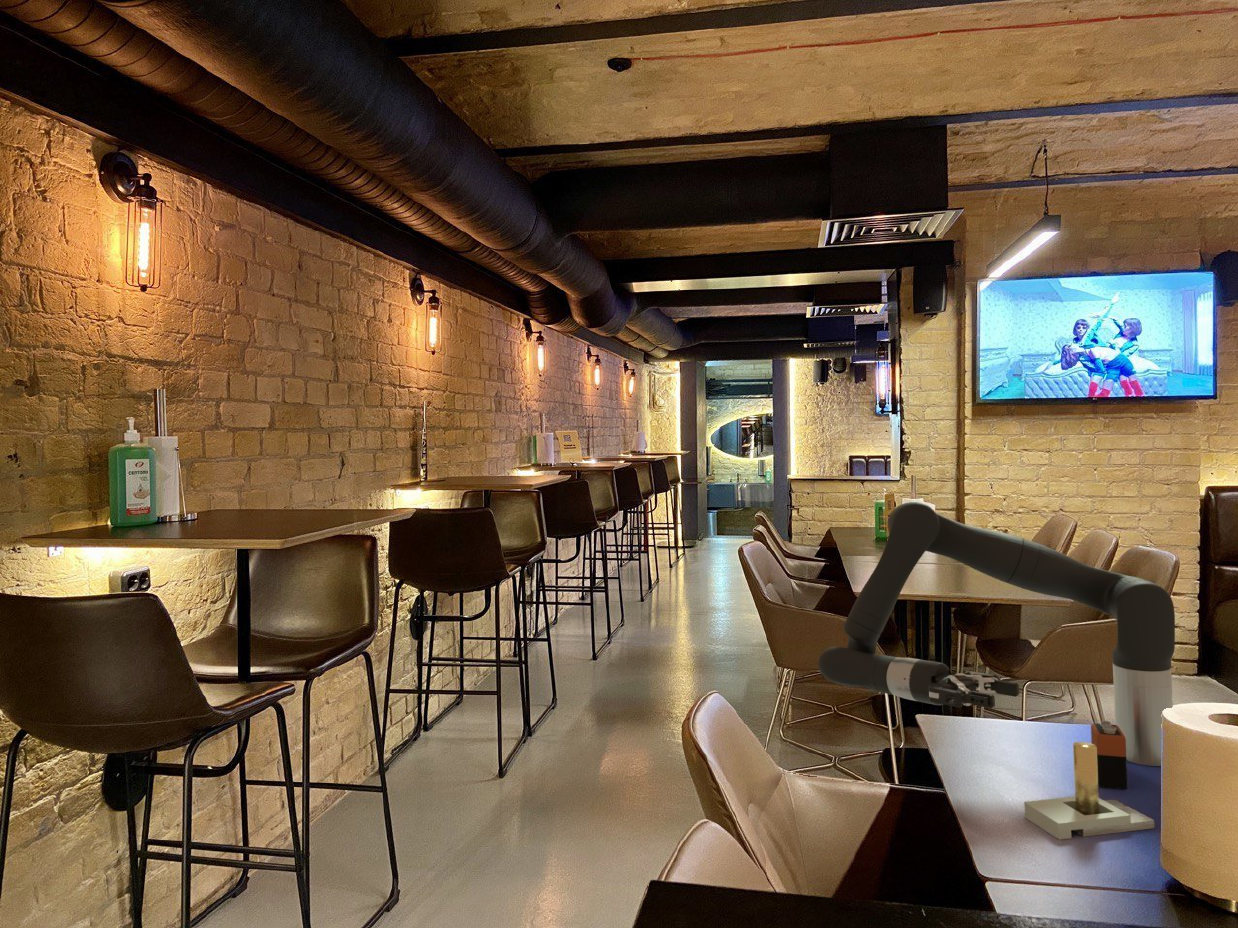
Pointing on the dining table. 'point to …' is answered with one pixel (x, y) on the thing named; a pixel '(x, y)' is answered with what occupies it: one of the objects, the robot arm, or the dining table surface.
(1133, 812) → the chain end lower
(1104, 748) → the battery
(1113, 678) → the robot arm
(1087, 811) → the pin
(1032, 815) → the plate with square hole
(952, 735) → the dining table surface
